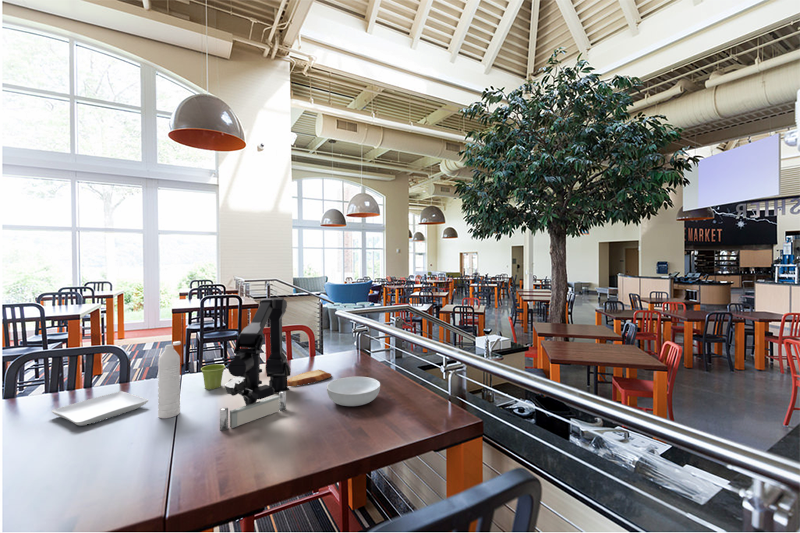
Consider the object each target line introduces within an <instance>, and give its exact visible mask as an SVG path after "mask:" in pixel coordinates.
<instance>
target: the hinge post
mask: <svg viewBox="0 0 800 533" xmlns="http://www.w3.org/2000/svg"><path fill="white" fill-rule="evenodd" d="M278 396H279V410H280V411H279V412H284V411H283V410H285V409H286V410H287V390H286V391H281V392H279V393H278ZM286 410H285V411H286Z"/></svg>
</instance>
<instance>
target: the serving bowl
mask: <svg viewBox="0 0 800 533" xmlns="http://www.w3.org/2000/svg"><path fill="white" fill-rule="evenodd" d="M380 390H381V382H380V381H379V380H377V379H376V378H373V377H367V376H346V377H342V378H337V379H334V380H331V381H330V382H329V383H327V384H326V392H327V395H328V397H329V399H330V400H331V401H332V402H333V403H335V404H337V405H340V406H344V407H358V406H364V405H367V404H369V403H370V402H372V401H374V400H375V399H376V398H377V396H379V392H380Z"/></svg>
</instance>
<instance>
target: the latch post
mask: <svg viewBox="0 0 800 533" xmlns="http://www.w3.org/2000/svg"><path fill="white" fill-rule="evenodd" d="M228 429H229V408H228V407H226V406H225V407H222V408H219V431H226V430H228Z"/></svg>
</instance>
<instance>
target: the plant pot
mask: <svg viewBox="0 0 800 533" xmlns="http://www.w3.org/2000/svg"><path fill="white" fill-rule="evenodd" d="M225 368H226V366H225V365H224V364H218V363H217V364H216V363H215V364H209V365H205V366H203V367H201V368H200V371H201V372H202V376H203V383H204V389H206V390H215V389H217V388H218V389H220V388H221V386H222V381H223V380H222V379H223V374H224V370H225Z"/></svg>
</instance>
